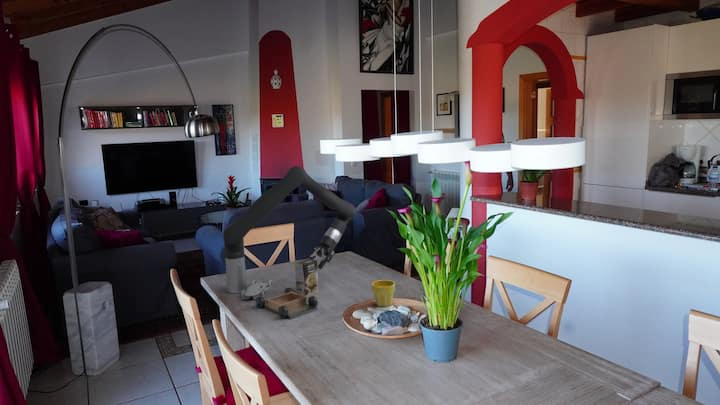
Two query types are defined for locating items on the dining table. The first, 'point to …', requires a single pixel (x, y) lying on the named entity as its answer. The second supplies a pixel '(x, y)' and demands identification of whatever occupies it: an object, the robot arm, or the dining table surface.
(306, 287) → the coffee box
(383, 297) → the plant pot
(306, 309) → the chassis
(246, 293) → the car model
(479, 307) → the dining table surface
